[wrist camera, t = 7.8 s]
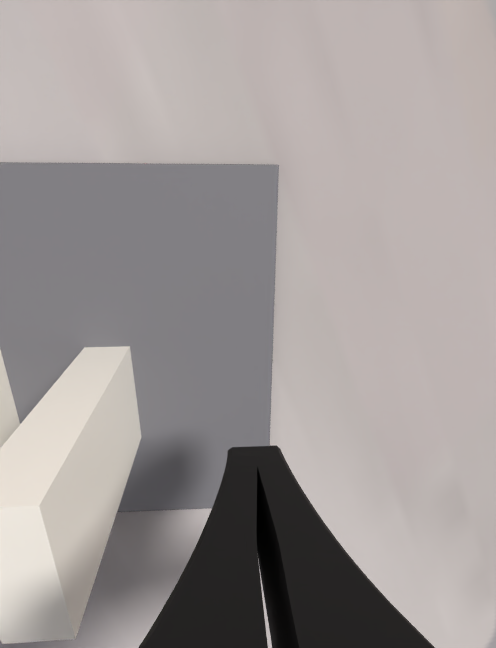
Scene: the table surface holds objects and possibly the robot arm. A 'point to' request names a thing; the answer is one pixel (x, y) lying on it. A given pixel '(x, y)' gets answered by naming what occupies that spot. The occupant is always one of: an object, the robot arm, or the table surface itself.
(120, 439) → the domino
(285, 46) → the table surface
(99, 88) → the table surface
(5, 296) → the runner mat
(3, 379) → the domino
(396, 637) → the robot arm
